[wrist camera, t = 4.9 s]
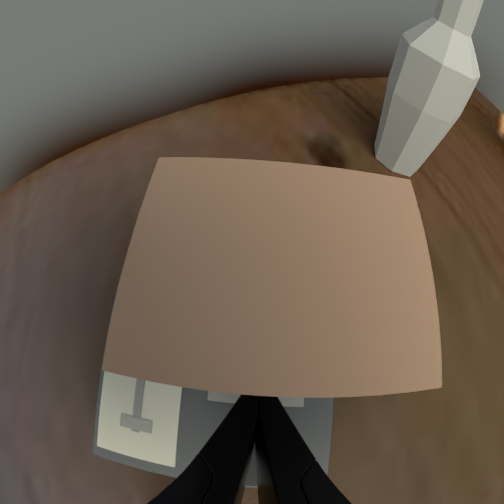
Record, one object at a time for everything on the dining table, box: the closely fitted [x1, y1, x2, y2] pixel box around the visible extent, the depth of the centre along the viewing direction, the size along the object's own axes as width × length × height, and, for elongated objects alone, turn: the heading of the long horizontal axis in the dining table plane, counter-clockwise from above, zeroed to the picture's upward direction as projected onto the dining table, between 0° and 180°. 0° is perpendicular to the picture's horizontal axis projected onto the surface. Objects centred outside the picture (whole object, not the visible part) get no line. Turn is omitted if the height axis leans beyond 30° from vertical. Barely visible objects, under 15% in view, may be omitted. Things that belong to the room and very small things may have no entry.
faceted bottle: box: [374, 0, 484, 177], centre depth 13 cm, size 6×6×22 cm
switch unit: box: [93, 271, 334, 488], centre depth 13 cm, size 10×11×3 cm
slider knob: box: [102, 157, 442, 407], centre depth 8 cm, size 4×4×10 cm
